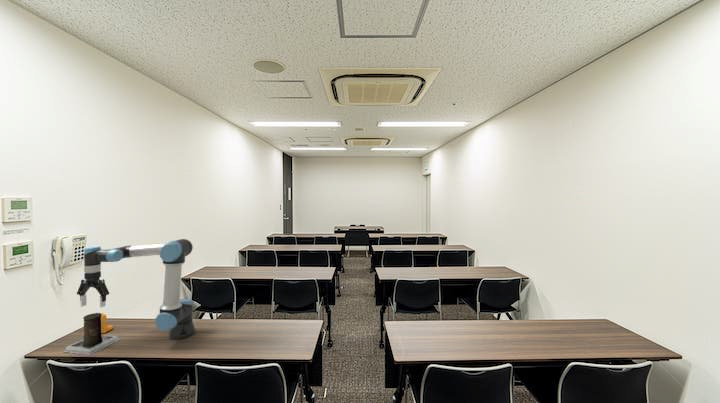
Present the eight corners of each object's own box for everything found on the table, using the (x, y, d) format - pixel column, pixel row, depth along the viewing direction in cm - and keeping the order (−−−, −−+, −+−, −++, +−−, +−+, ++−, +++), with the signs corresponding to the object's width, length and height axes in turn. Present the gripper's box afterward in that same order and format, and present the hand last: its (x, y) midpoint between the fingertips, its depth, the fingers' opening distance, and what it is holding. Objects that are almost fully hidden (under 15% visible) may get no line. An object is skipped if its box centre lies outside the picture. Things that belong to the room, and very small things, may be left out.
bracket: (113, 329, 202) (113, 312, 202) (104, 334, 195) (104, 316, 195) (97, 329, 202) (97, 312, 202) (88, 334, 194) (88, 316, 194)
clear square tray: (119, 340, 186) (119, 335, 186) (89, 355, 168) (89, 349, 168) (95, 338, 189) (95, 333, 189) (63, 352, 171) (63, 347, 171)
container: (78, 347, 175) (78, 317, 175) (94, 340, 184) (94, 311, 184) (90, 348, 173) (90, 319, 173) (106, 341, 182) (106, 313, 182)
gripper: (116, 270, 180) (116, 304, 180) (81, 269, 184) (82, 303, 184) (104, 273, 173) (104, 309, 173) (68, 272, 176) (68, 307, 176)
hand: (93, 306), depth 178 cm, fingers open, 13 cm apart
